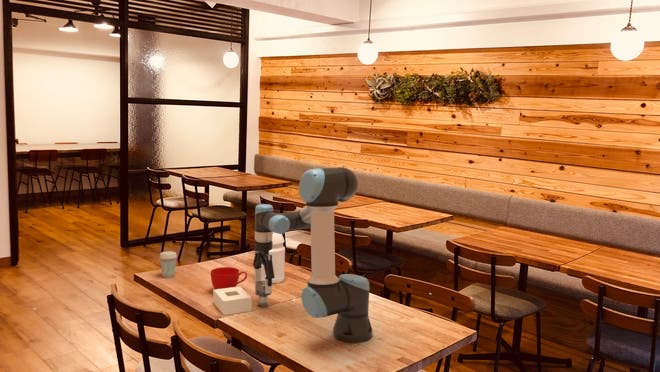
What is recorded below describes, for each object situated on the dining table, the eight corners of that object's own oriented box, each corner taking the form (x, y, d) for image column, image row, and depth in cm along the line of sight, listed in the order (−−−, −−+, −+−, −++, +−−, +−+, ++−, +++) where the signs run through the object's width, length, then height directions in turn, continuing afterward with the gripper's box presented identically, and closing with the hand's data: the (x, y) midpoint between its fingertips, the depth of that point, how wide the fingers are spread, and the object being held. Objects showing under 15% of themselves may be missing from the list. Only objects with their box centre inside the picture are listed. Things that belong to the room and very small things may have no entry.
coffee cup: (159, 274, 292) (159, 251, 291) (176, 273, 295) (176, 250, 293) (159, 279, 284) (159, 255, 282) (177, 278, 287) (177, 254, 285)
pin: (273, 306, 250) (274, 284, 248) (258, 309, 247) (258, 286, 245) (268, 301, 256) (268, 280, 255) (253, 304, 253) (253, 281, 251)
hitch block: (251, 311, 244) (251, 297, 243) (223, 315, 239) (223, 301, 238) (239, 299, 258) (239, 286, 257) (213, 303, 253) (213, 289, 252)
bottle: (259, 275, 295) (259, 221, 291) (286, 276, 294) (286, 222, 290) (254, 283, 281) (254, 227, 277) (282, 284, 280) (283, 228, 276)
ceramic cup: (250, 293, 266) (250, 272, 265) (213, 297, 260) (213, 276, 258) (243, 285, 278) (243, 265, 277) (208, 288, 272) (208, 268, 270)
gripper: (282, 246, 238) (281, 296, 241) (261, 233, 260) (261, 278, 263) (265, 248, 235) (265, 298, 238) (245, 234, 256) (245, 280, 260)
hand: (263, 288), depth 250 cm, fingers open, 13 cm apart
